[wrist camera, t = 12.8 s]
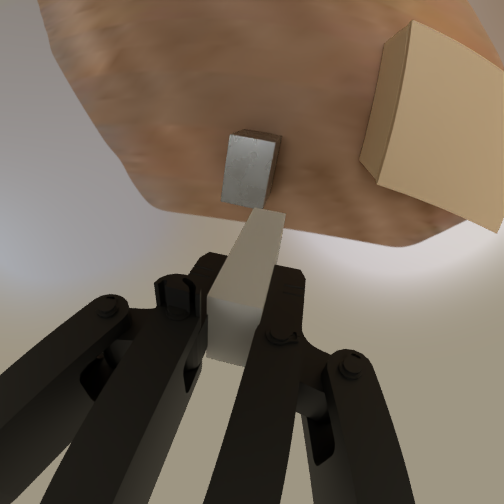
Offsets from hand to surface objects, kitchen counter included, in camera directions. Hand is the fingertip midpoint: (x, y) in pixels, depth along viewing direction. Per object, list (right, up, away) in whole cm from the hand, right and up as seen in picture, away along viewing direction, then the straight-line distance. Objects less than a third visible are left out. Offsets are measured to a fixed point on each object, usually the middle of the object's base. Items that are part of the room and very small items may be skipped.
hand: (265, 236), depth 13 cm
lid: (+20, +11, +5) cm, 24 cm away
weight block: (0, +11, +23) cm, 25 cm away
